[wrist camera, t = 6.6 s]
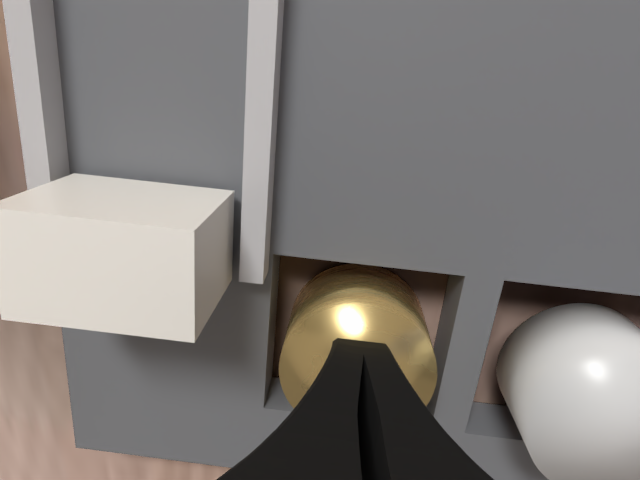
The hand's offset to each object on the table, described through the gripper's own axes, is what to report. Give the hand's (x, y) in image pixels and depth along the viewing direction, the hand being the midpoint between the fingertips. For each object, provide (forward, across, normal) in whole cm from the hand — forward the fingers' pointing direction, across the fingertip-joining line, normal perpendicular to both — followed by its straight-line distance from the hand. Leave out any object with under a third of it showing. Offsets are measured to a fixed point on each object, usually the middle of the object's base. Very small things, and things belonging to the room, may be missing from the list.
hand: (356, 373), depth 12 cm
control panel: (+3, -1, -3) cm, 4 cm away
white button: (+1, -6, 0) cm, 6 cm away
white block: (+1, +5, -3) cm, 6 cm away
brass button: (+2, 0, 0) cm, 2 cm away
